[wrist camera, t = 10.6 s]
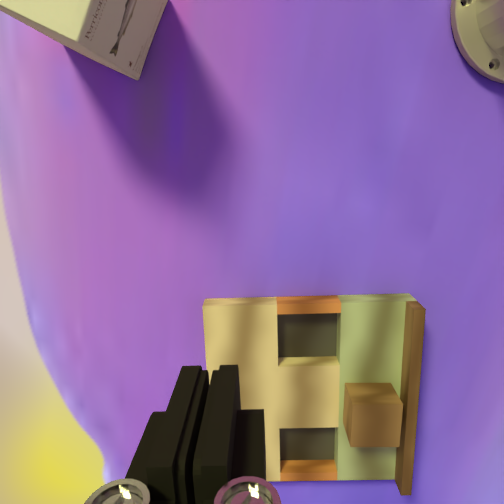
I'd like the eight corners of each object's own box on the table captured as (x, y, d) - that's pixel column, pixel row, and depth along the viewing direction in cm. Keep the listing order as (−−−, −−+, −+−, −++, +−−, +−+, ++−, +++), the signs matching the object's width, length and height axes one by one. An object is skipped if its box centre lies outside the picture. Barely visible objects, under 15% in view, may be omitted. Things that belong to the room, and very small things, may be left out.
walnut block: (390, 382, 39) (403, 404, 36) (387, 422, 41) (399, 447, 37) (344, 382, 40) (352, 404, 36) (342, 422, 41) (350, 446, 37)
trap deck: (409, 293, 39) (425, 309, 35) (397, 464, 44) (411, 495, 40) (205, 298, 40) (199, 314, 36) (216, 467, 45) (212, 497, 41)
